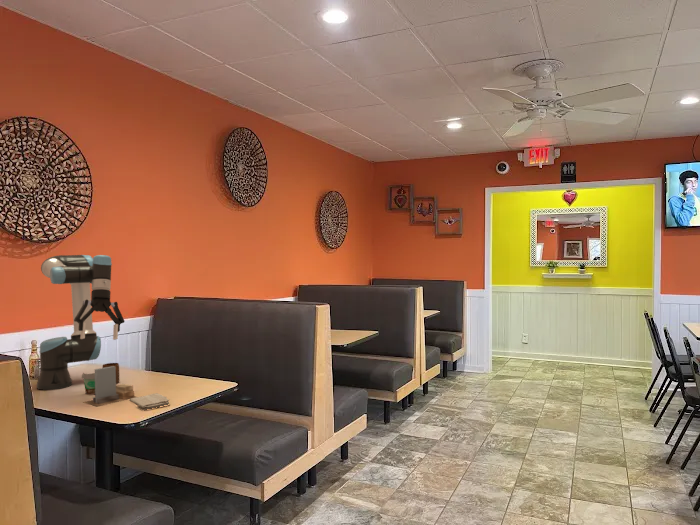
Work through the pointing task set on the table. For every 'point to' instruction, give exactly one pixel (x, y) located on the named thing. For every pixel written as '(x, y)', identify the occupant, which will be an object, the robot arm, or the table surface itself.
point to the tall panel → (105, 382)
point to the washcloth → (150, 401)
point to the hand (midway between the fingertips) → (99, 339)
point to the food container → (89, 383)
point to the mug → (115, 367)
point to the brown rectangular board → (106, 400)
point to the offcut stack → (124, 391)
